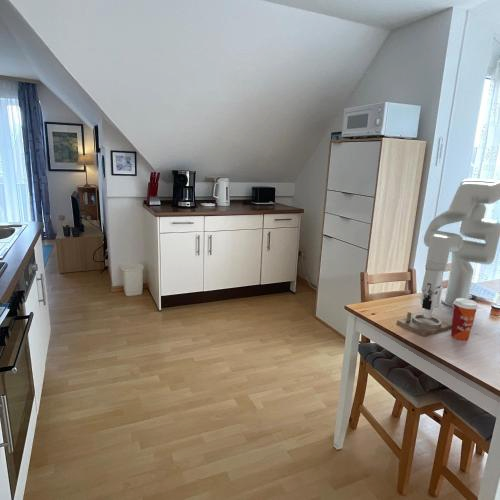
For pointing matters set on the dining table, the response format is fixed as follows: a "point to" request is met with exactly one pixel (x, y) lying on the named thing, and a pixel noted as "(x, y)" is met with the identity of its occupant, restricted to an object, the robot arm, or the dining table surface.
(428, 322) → the locating board
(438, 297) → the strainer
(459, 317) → the coffee cup
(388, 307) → the dining table surface
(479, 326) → the dining table surface
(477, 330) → the dining table surface
